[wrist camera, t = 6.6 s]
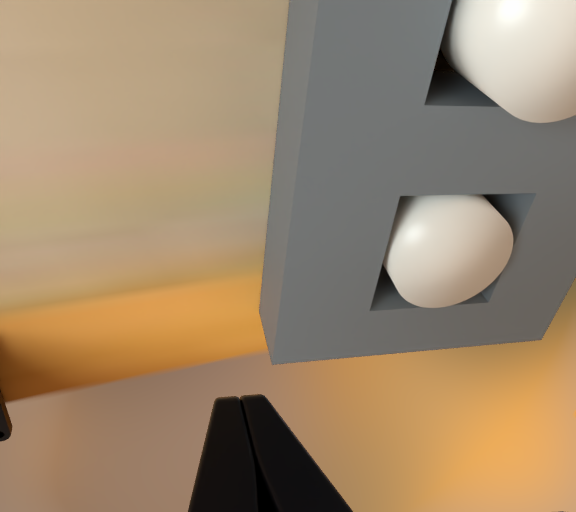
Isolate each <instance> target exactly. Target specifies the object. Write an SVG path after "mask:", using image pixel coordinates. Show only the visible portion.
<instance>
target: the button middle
mask: <svg viewBox="0 0 576 512" xmlns="http://www.w3.org/2000/svg"><path fill="white" fill-rule="evenodd" d="M440 48H441V51H442V53H443V55H444V57H445V59H446V61H447V62H448V64H449V65H450V66H451V67H452V68H453V69H454V70H455V71H456V72H457V73H458V74H460V75H461V76H462V77H464V78H465V79H466V80H467V81H469V82H470V83H471V84H473V85H474V86H475V87H476V88H478V89H479V90H480V91H481V92H483V93H484V94H485V95H487V96H488V97H489V98H490V99H492V100H493V101H494V102H496V103H497V104H498V105H499V106H501V107H502V108H503V109H505V110H506V111H507V112H509V113H510V114H511V115H513V116H514V117H517V118H519V119H521V120H524V121H528V122H534V123H549V122H555V121H560V120H563V119H566V118H570V117H572V116H574V115H576V0H452V3H451V6H450V10H449V14H448V18H447V21H446V25H445V29H444V33H443V37H442V40H441V44H440Z"/></svg>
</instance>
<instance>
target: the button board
mask: <svg viewBox="0 0 576 512" xmlns="http://www.w3.org/2000/svg"><path fill="white" fill-rule="evenodd" d="M451 3H452V0H290V2H289V12H288V22H287V33H286V43H285V53H284V63H283V73H282V83H281V94H280V104H279V114H278V124H277V134H276V144H275V155H274V165H273V175H272V185H271V195H270V205H269V216H268V226H267V236H266V246H265V256H264V266H263V277H262V287H261V297H260V307H259V313H260V317H261V321H262V326H263V330H264V334H265V338H266V342H267V346H268V350H269V354H270V359H271V362H272V365H274V364H284V363H296V362H307V361H317V360H329V359H339V358H349V357H361V356H372V355H383V354H394V353H405V352H416V351H426V350H438V349H448V348H459V347H470V346H481V345H492V344H502V343H513V342H525V341H535V340H541V339H542V338H543V336H544V334H545V332H546V330H547V329H548V327H549V325H550V323H551V321H552V320H553V318H554V316H555V314H556V312H557V310H558V309H559V307H560V305H561V303H562V301H563V300H564V297H565V296H566V294H567V292H568V290H569V288H570V287H571V285H572V283H573V281H574V279H575V278H576V115H574V116H572V117H570V118H566V119H563V120H560V121H555V122H549V123H534V122H528V121H524V120H521V119H519V118H517V117H514V116H513V115H511V114H510V113H509V112H507V111H506V110H505V109H503V108H502V107H501V106H499V105H498V104H497V103H496V102H494V101H493V100H492V99H490V98H489V97H488V96H487V95H485V94H484V93H483V92H481V91H480V90H479V89H478V88H476V87H475V86H474V85H473V84H471V83H470V82H469V81H467V80H466V79H465V78H464V77H462V76H461V75H460V74H458V73H457V72H450V71H433V70H434V67H435V63H436V59H437V55H438V52H439V48H440V44H441V40H442V37H443V33H444V29H445V25H446V21H447V18H448V14H449V10H450V6H451ZM472 194H482V195H483V196H484V197H485V198H486V199H487V200H488V201H489V203H490V204H491V205H492V206H493V207H494V208H495V209H496V210H497V211H498V212H499V213H500V214H501V215H502V217H503V218H504V219H505V220H506V221H507V222H508V224H509V225H510V227H511V230H512V233H513V248H512V253H511V255H510V258H509V260H508V262H507V264H506V266H505V267H504V269H503V270H502V272H501V273H500V274H499V275H498V277H497V278H496V279H495V280H494V281H493V282H492V283H491V284H490V285H489V286H487V287H486V288H485V289H484V290H482V291H481V292H479V293H478V294H476V295H475V296H473V297H471V298H469V299H467V300H465V301H463V302H460V303H457V304H454V305H451V306H446V307H440V308H425V307H420V306H416V305H414V304H411V303H409V302H408V301H406V300H405V299H404V298H403V297H402V296H401V295H400V294H399V292H398V290H397V289H396V287H395V285H394V283H393V281H392V279H391V278H390V276H389V274H388V272H387V270H386V269H385V267H384V265H383V259H384V255H385V251H386V248H387V244H388V240H389V236H390V233H391V229H392V225H393V221H394V217H395V214H396V210H397V206H398V202H399V199H400V196H424V195H472Z"/></svg>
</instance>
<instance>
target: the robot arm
mask: <svg viewBox="0 0 576 512" xmlns="http://www.w3.org/2000/svg"><path fill="white" fill-rule="evenodd" d="M11 431H12V424H11V421H10V417H9V415H8V412H7V408H6V405H5V402H4V399H3V396H2V393H1V390H0V441H4V440H6V439H8V438H9V437H10V435H11ZM188 512H353V511H352V510H351V508H350V507H349V506H348V504H346V502H345V500H344V499H343V498H342V496H341V495H340V494H339V493H338V492H337V490H336V489H335V487H334V486H333V485H332V483H331V482H330V481H329V479H328V478H327V477H326V475H325V474H324V473H323V472H322V470H321V469H320V468H319V466H318V465H317V464H316V462H315V461H314V460H313V458H312V457H311V456H310V455H309V453H308V452H307V450H306V449H305V448H304V447H303V445H302V444H301V443H300V442H299V440H298V439H297V437H296V436H295V435H294V433H293V432H292V431H291V430H290V428H289V427H288V426H287V424H286V423H285V422H284V420H283V419H282V418H281V416H280V415H279V414H278V412H277V411H276V410H275V408H274V407H273V406H272V405H271V403H270V402H269V401H268V399H267V398H266V397H265V396H263V395H261V394H257V395H244V396H241V397H240V399H239V398H238V397H236V396H231V397H219V398H217V399H216V400H215V401H214V405H213V409H212V413H211V417H210V422H209V426H208V430H207V434H206V438H205V442H204V447H203V451H202V455H201V459H200V463H199V467H198V472H197V476H196V480H195V485H194V488H193V492H192V497H191V501H190V505H189V510H188Z"/></svg>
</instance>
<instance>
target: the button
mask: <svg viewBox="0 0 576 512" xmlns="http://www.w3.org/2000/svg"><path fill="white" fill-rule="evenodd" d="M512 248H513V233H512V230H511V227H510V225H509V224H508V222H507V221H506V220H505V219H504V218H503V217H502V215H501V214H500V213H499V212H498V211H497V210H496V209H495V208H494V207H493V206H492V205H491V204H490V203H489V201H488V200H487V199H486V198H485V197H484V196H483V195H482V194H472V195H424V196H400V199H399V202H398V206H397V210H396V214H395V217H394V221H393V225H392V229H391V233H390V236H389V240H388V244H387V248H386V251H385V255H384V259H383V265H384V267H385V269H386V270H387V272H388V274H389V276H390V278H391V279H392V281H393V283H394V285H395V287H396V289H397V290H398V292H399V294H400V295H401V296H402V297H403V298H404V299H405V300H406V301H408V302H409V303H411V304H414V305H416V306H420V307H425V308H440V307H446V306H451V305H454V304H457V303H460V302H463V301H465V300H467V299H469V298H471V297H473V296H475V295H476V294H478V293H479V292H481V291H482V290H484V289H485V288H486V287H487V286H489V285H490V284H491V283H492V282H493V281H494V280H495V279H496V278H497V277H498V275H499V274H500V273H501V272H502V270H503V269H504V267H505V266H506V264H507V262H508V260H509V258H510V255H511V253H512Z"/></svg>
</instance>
